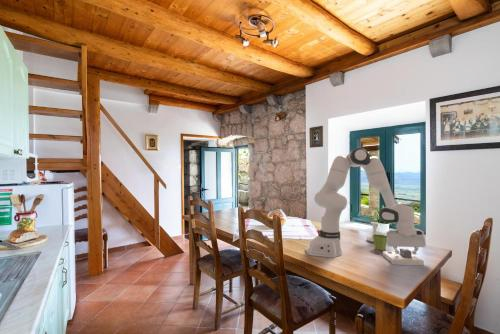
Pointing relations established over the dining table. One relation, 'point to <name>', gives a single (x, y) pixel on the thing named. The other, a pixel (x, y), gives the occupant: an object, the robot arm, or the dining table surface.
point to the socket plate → (402, 259)
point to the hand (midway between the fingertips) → (405, 254)
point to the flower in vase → (374, 224)
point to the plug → (405, 253)
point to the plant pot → (380, 241)
